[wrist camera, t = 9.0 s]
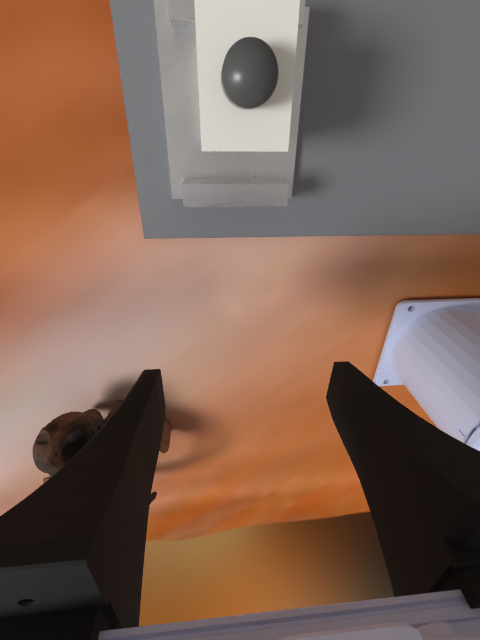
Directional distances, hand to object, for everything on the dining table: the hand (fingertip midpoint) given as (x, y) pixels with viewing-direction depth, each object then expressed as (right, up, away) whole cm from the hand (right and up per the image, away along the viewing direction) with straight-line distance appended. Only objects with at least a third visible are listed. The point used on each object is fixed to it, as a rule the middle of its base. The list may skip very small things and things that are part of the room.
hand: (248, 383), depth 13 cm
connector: (-1, +13, +1) cm, 13 cm away
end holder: (-1, +13, +3) cm, 13 cm away
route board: (+5, +13, +3) cm, 15 cm away
